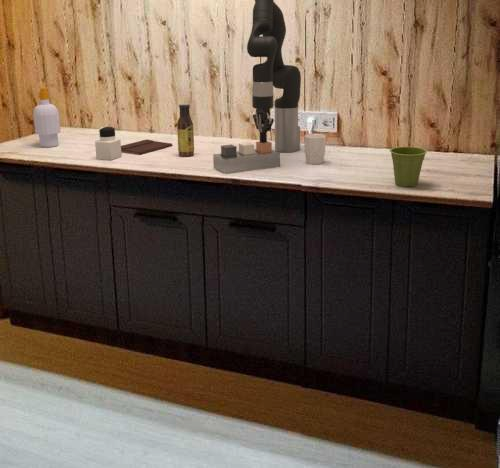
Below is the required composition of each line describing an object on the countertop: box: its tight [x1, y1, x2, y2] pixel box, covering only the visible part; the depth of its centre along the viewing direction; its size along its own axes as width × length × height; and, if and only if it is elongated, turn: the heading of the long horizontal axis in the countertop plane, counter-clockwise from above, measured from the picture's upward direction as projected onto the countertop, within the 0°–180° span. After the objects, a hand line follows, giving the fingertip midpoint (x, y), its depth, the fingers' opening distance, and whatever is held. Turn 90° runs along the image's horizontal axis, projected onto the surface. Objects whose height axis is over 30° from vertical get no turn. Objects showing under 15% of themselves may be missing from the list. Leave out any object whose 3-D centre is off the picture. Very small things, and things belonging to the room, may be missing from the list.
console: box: [212, 148, 281, 174], centre depth 265 cm, size 22×10×5 cm, turn 116°
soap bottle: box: [32, 86, 61, 148], centre depth 305 cm, size 10×10×24 cm
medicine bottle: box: [94, 126, 123, 161], centre depth 283 cm, size 7×7×12 cm
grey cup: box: [303, 133, 327, 165], centre depth 269 cm, size 8×8×10 cm
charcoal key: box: [220, 144, 238, 157], centre depth 261 cm, size 4×4×4 cm
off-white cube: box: [238, 142, 255, 155], centre depth 264 cm, size 4×4×4 cm
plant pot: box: [389, 146, 428, 187], centre depth 237 cm, size 12×12×11 cm
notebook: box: [121, 139, 173, 156], centre depth 300 cm, size 15×20×2 cm
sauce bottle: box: [176, 103, 195, 157], centre depth 284 cm, size 7×6×20 cm
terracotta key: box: [255, 140, 273, 153], centre depth 267 cm, size 4×4×4 cm
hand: (263, 142), depth 266 cm, fingers closed
